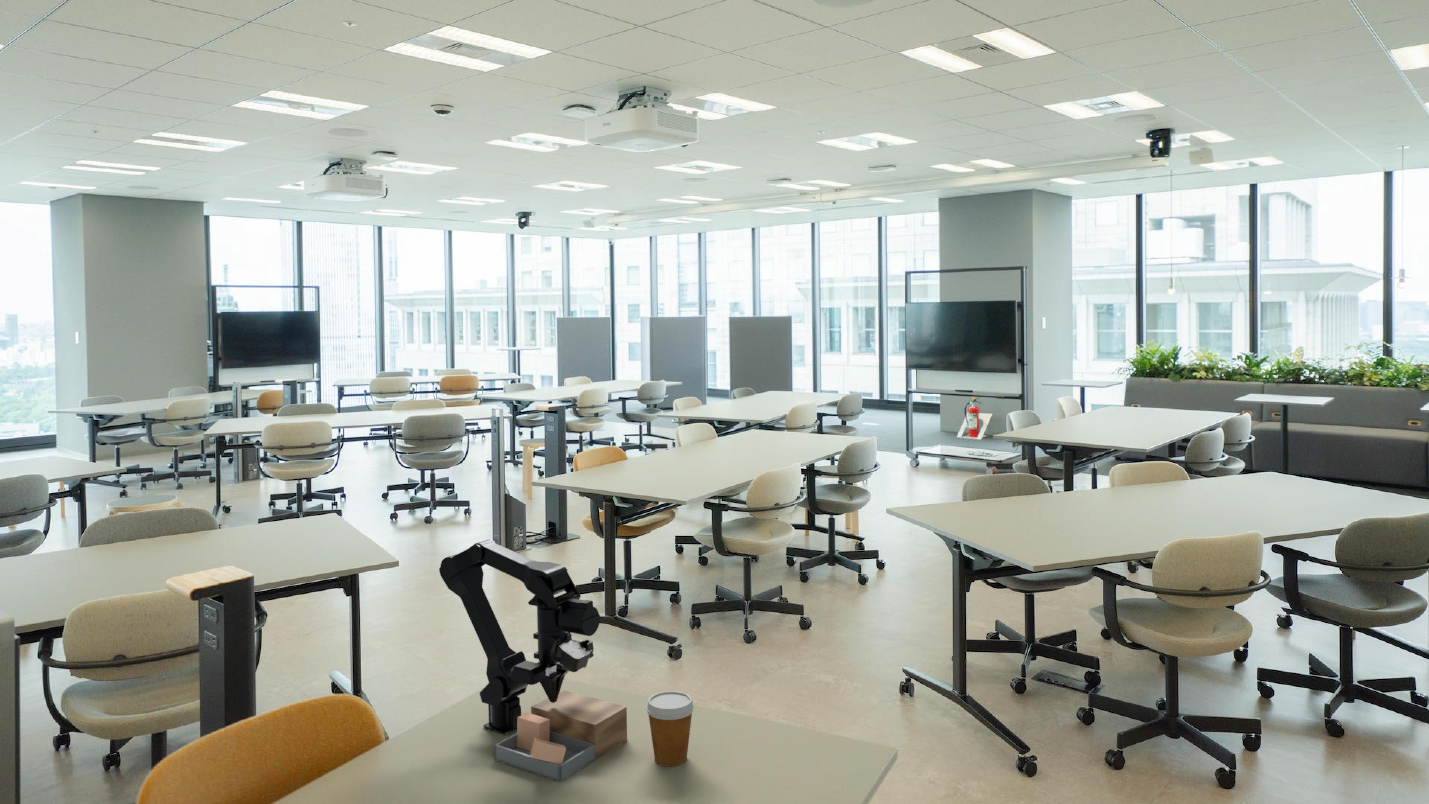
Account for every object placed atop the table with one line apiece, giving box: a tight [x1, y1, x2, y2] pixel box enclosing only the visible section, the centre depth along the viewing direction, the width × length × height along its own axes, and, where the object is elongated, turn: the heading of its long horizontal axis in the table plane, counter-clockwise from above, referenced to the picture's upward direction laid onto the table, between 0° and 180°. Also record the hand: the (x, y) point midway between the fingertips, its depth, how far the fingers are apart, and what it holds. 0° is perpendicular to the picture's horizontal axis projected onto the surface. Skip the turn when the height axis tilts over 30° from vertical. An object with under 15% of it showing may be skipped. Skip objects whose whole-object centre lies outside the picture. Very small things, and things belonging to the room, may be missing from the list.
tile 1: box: [516, 712, 550, 751], centre depth 182 cm, size 6×6×3 cm
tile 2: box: [530, 738, 566, 764], centre depth 174 cm, size 6×6×3 cm
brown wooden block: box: [530, 689, 628, 760], centre depth 186 cm, size 17×10×7 cm, turn 58°
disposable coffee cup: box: [645, 690, 695, 767], centre depth 177 cm, size 10×10×12 cm
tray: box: [493, 731, 597, 783], centre depth 178 cm, size 17×10×3 cm, turn 58°
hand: (553, 701), depth 186 cm, fingers closed
